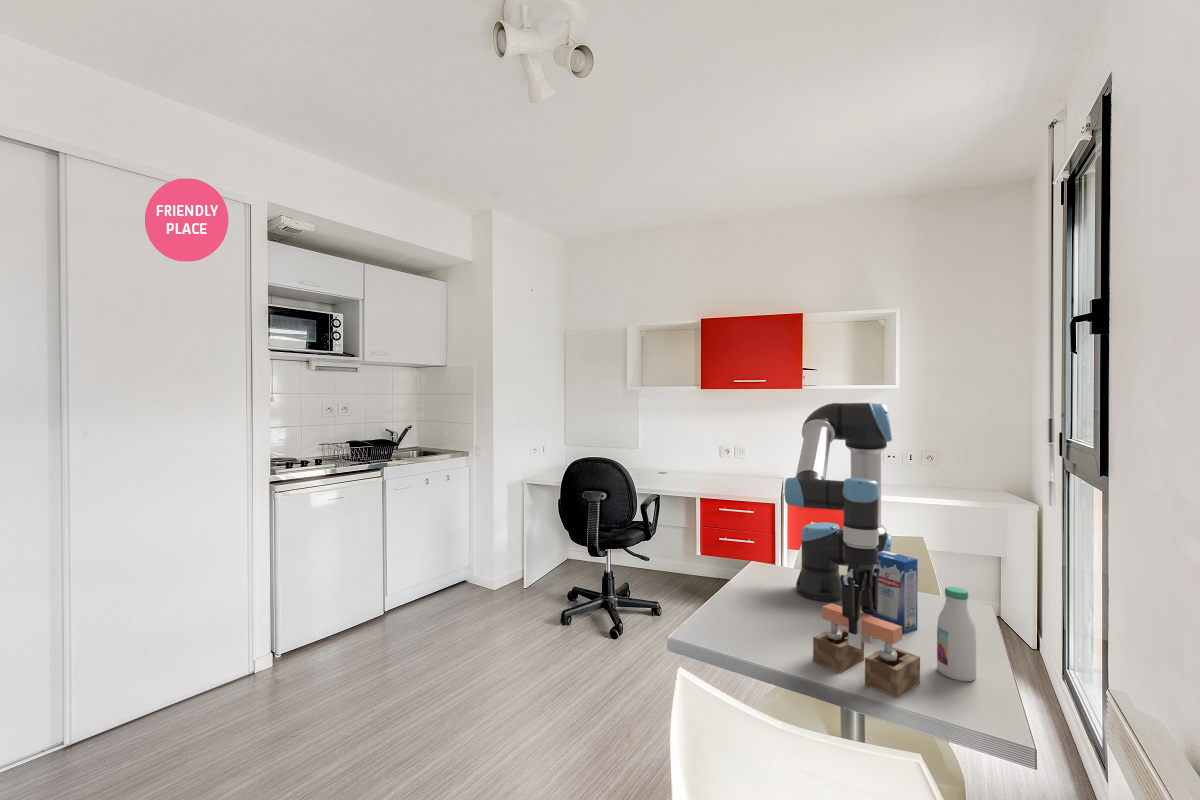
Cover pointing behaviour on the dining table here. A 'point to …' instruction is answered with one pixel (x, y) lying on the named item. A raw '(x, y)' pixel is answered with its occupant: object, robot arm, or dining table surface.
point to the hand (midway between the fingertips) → (860, 643)
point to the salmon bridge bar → (865, 629)
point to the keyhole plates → (869, 664)
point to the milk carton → (897, 590)
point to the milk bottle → (956, 637)
